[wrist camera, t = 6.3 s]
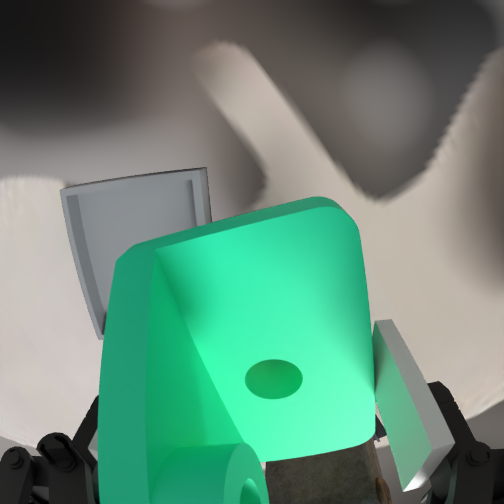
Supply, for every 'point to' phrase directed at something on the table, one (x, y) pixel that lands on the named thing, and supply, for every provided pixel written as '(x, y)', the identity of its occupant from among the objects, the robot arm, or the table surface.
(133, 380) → the camera mount
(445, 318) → the table surface
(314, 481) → the vintage camera
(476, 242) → the table surface
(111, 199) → the tray
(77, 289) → the table surface
